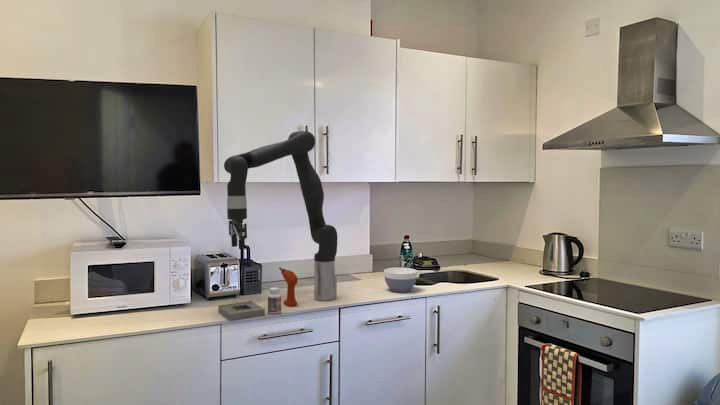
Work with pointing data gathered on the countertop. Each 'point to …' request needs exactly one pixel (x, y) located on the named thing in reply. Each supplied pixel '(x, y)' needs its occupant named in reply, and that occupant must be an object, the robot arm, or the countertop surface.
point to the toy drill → (290, 287)
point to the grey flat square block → (241, 310)
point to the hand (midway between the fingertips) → (238, 247)
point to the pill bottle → (274, 301)
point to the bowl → (400, 279)
